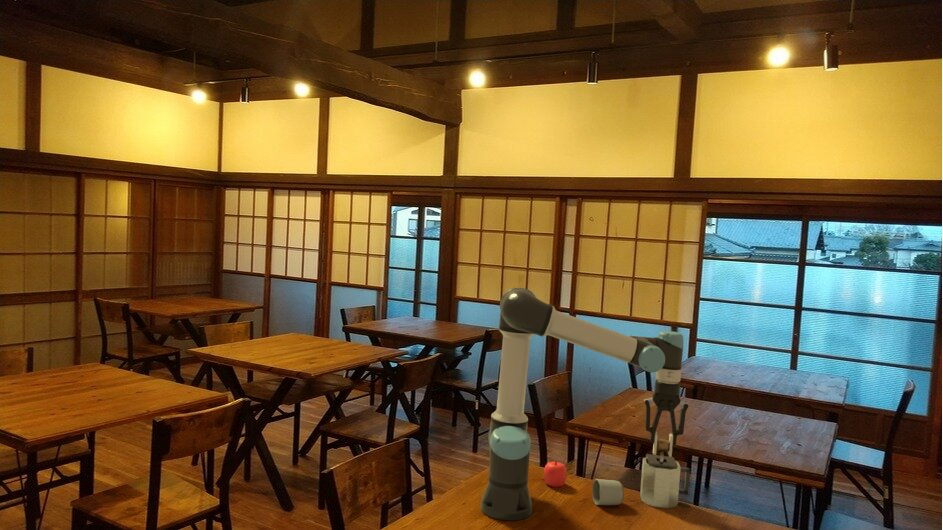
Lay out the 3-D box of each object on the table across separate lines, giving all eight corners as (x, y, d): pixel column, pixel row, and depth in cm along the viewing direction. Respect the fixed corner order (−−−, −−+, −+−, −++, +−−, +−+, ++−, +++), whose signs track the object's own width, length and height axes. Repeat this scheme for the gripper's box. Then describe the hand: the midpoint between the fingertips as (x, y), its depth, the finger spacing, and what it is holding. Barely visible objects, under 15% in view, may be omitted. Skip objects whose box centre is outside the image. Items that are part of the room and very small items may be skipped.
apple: (538, 480, 221) (540, 456, 220) (561, 479, 223) (562, 456, 222) (547, 489, 213) (549, 465, 213) (570, 488, 215) (572, 464, 215)
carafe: (642, 505, 205) (645, 464, 204) (639, 492, 215) (642, 452, 215) (689, 511, 202) (692, 469, 201) (684, 497, 213) (687, 457, 212)
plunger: (647, 498, 206) (651, 443, 205) (645, 488, 213) (649, 435, 212) (672, 501, 205) (677, 445, 204) (669, 491, 212) (674, 438, 211)
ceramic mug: (624, 508, 202) (626, 484, 201) (599, 509, 200) (600, 484, 200) (611, 495, 212) (613, 471, 212) (587, 495, 211) (588, 471, 210)
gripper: (640, 381, 205) (635, 455, 206) (698, 386, 202) (692, 461, 203) (638, 375, 212) (633, 447, 213) (694, 381, 209) (688, 453, 210)
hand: (662, 454), depth 208 cm, fingers closed on plunger, 4 cm apart
